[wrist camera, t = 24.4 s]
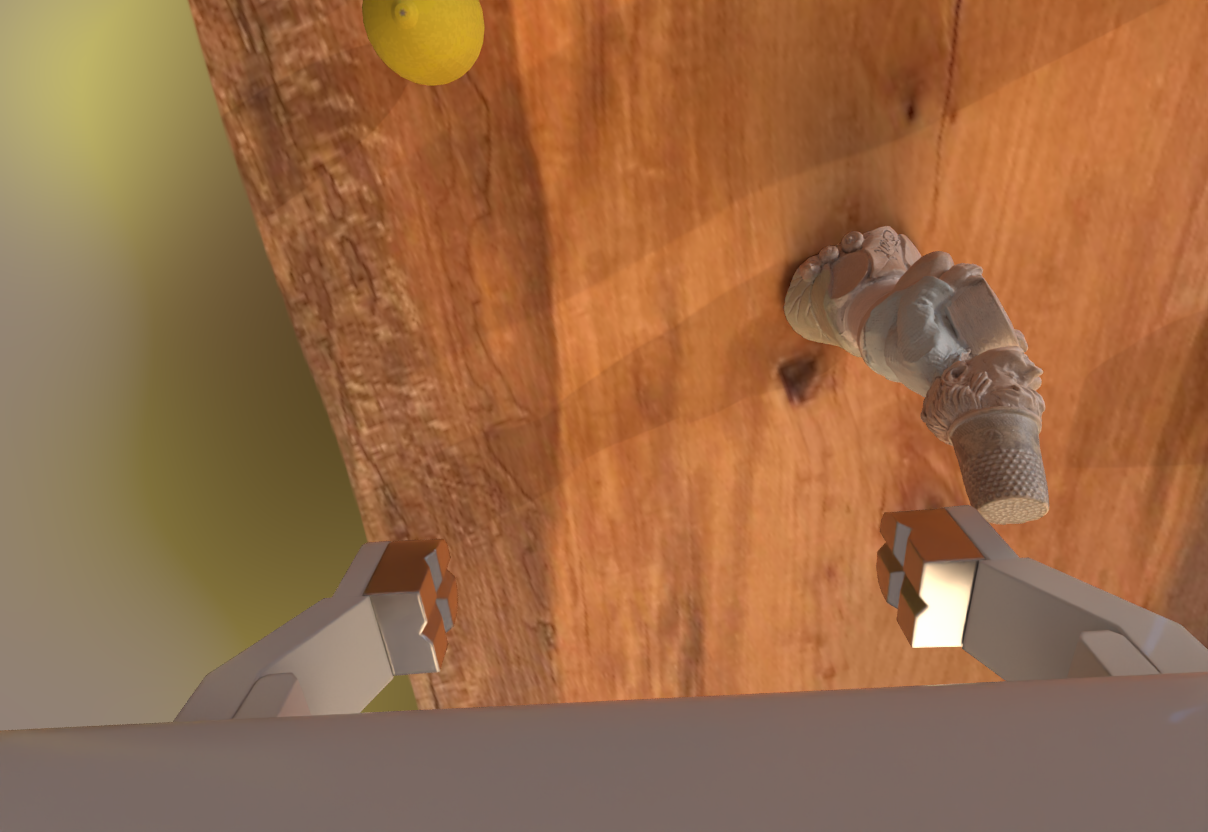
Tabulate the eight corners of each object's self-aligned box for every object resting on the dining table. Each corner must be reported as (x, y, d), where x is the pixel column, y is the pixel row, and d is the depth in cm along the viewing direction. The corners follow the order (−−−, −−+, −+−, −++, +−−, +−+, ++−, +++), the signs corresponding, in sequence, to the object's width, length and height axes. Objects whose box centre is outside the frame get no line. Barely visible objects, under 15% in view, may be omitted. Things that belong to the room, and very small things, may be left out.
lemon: (412, 96, 37) (364, 95, 30) (378, -18, 35) (317, -49, 28) (507, 74, 37) (481, 68, 30) (479, -43, 35) (444, -81, 27)
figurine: (840, 381, 44) (995, 573, 26) (760, 291, 42) (872, 437, 24) (956, 289, 42) (1220, 434, 24) (879, 188, 39) (1107, 263, 21)
